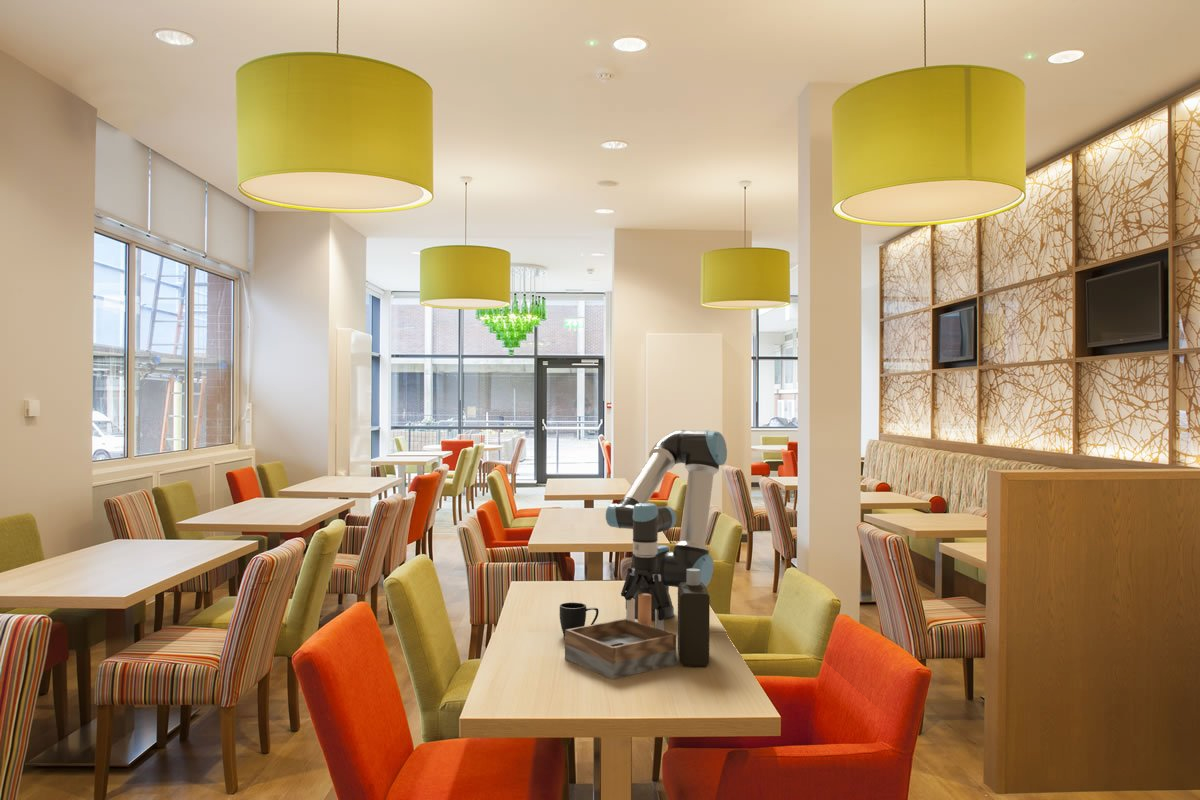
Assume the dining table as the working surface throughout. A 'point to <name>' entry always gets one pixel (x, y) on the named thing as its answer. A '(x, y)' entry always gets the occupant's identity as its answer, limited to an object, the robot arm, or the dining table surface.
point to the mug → (574, 615)
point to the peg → (644, 609)
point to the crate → (620, 647)
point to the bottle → (693, 621)
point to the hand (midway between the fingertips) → (644, 625)
